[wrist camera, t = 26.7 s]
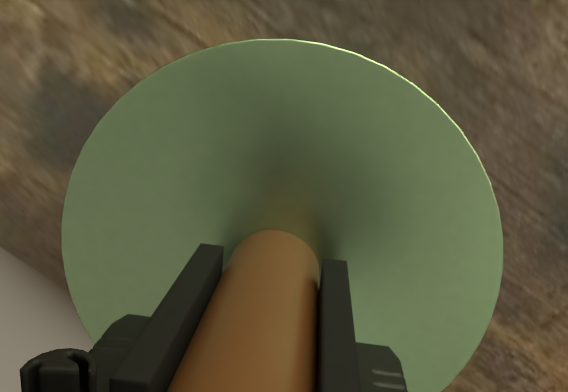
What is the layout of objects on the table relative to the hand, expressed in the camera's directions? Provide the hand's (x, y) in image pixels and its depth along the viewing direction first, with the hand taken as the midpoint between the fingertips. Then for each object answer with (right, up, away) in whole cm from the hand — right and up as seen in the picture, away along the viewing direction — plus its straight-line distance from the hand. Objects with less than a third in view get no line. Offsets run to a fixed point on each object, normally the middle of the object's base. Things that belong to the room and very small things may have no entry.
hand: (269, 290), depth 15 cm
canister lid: (0, +1, +2) cm, 2 cm away
